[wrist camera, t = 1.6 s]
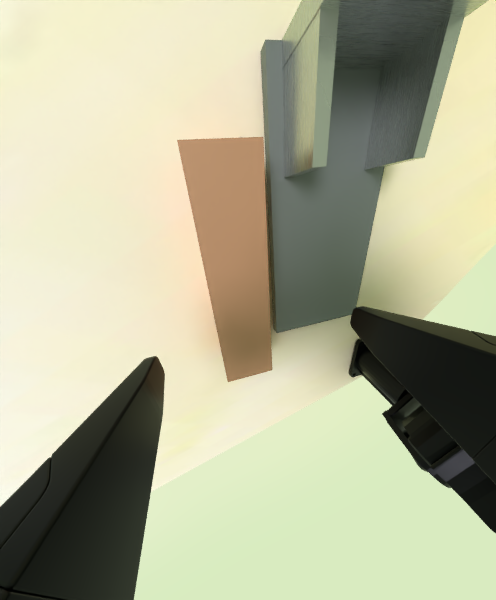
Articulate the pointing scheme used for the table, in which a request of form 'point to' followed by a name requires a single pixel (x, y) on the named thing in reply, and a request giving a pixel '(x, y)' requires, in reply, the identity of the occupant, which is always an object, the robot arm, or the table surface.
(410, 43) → the bracket
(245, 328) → the rail
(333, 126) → the board
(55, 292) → the table surface
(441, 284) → the table surface
